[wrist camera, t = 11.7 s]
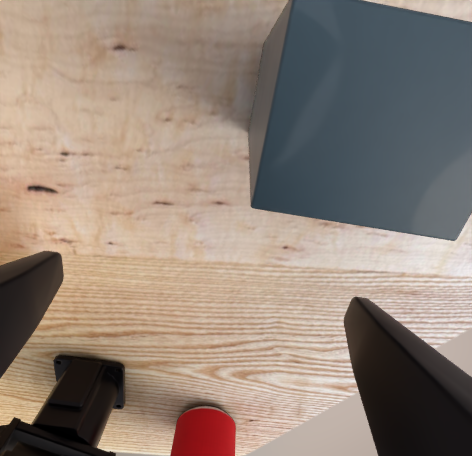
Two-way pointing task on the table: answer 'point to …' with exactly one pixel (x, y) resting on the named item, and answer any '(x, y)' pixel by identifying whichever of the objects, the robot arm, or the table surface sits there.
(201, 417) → the beverage can
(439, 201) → the tissue box
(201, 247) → the table surface
